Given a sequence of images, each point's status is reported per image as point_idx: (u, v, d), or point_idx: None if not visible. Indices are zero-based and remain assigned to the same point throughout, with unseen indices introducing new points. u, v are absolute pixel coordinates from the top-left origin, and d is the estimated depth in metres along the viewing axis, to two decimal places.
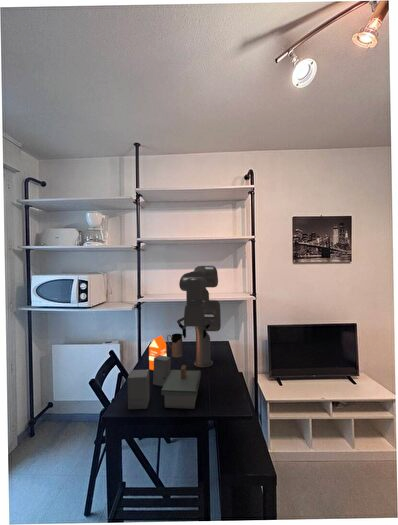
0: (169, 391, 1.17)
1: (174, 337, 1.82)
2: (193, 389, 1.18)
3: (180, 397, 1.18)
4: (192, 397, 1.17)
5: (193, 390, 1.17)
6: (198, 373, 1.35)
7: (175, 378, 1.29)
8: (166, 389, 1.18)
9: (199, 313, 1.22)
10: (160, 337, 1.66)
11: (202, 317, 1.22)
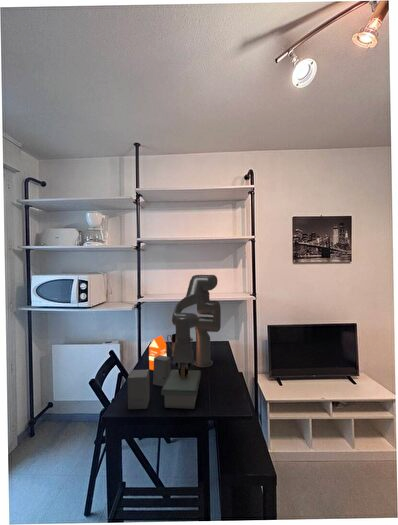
0: (169, 391, 1.17)
1: (174, 337, 1.82)
2: (193, 389, 1.18)
3: (180, 397, 1.18)
4: (192, 397, 1.17)
5: (193, 390, 1.17)
6: (198, 373, 1.35)
7: (175, 378, 1.29)
8: (166, 389, 1.18)
9: (187, 351, 1.28)
10: (160, 337, 1.66)
11: (190, 354, 1.28)
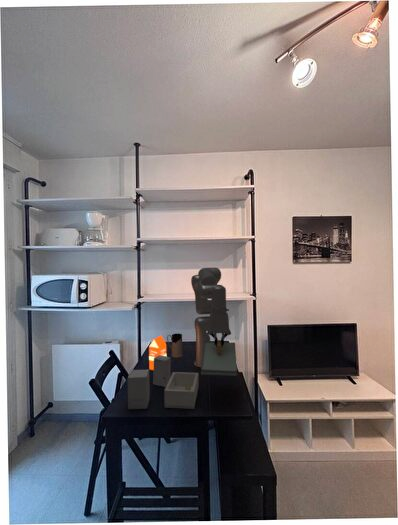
0: (209, 371, 1.15)
1: (174, 337, 1.82)
2: (233, 368, 1.15)
3: (180, 397, 1.18)
4: (192, 397, 1.17)
5: (233, 370, 1.14)
6: (233, 346, 1.32)
7: (211, 354, 1.26)
8: (205, 369, 1.16)
9: (224, 321, 1.26)
10: (160, 337, 1.66)
11: (227, 324, 1.26)
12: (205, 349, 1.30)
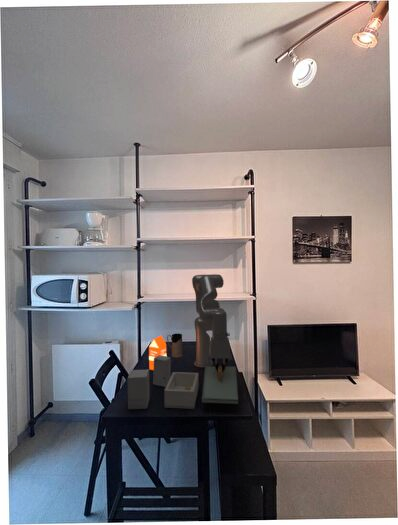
0: (210, 399, 1.14)
1: (174, 337, 1.82)
2: (234, 396, 1.15)
3: (180, 397, 1.18)
4: (192, 397, 1.17)
5: (235, 398, 1.14)
6: (234, 370, 1.31)
7: (212, 379, 1.26)
8: (207, 397, 1.15)
9: (225, 346, 1.26)
10: (160, 337, 1.66)
11: (228, 349, 1.26)
12: (206, 374, 1.30)
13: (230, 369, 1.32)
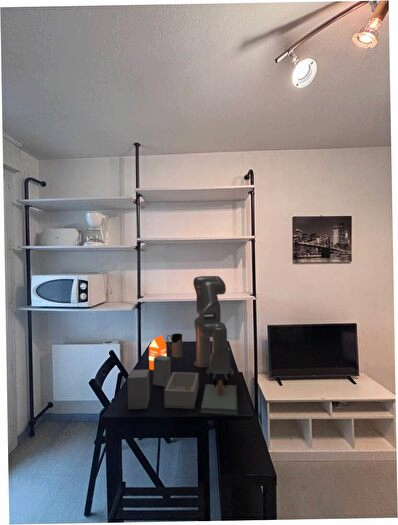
0: (209, 409, 1.13)
1: (174, 337, 1.82)
2: (234, 407, 1.14)
3: (180, 397, 1.18)
4: (192, 397, 1.17)
5: (234, 408, 1.13)
6: (235, 388, 1.31)
7: (212, 394, 1.25)
8: (206, 407, 1.14)
9: (225, 362, 1.26)
10: (160, 337, 1.66)
11: (228, 365, 1.26)
12: (206, 390, 1.29)
13: (230, 387, 1.32)
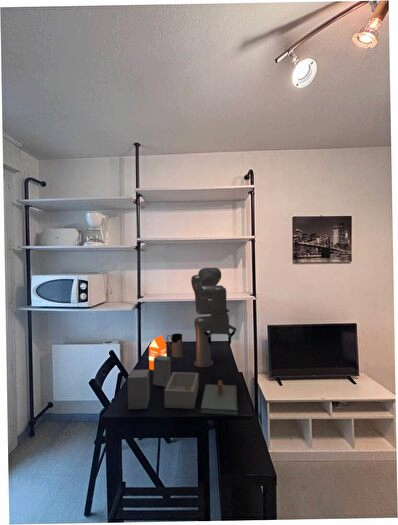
0: (209, 409, 1.13)
1: (174, 337, 1.82)
2: (234, 407, 1.14)
3: (180, 397, 1.18)
4: (192, 397, 1.17)
5: (234, 408, 1.13)
6: (235, 388, 1.31)
7: (212, 394, 1.25)
8: (206, 407, 1.14)
9: (224, 322, 1.26)
10: (160, 337, 1.66)
11: (227, 325, 1.26)
12: (206, 390, 1.29)
13: (230, 387, 1.32)
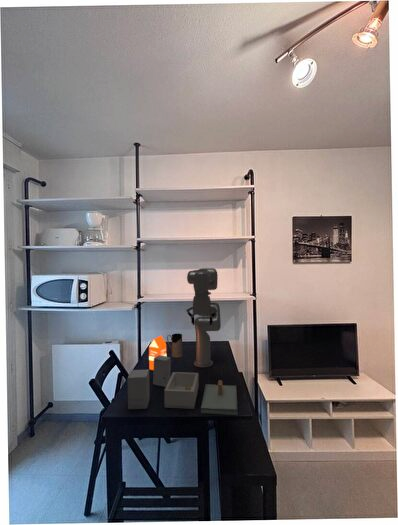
0: (209, 409, 1.13)
1: (174, 337, 1.82)
2: (234, 407, 1.14)
3: (180, 397, 1.18)
4: (192, 397, 1.17)
5: (234, 408, 1.13)
6: (235, 388, 1.31)
7: (212, 394, 1.25)
8: (206, 407, 1.14)
9: (206, 303, 1.38)
10: (160, 337, 1.66)
11: (209, 306, 1.38)
12: (206, 390, 1.29)
13: (230, 387, 1.32)
